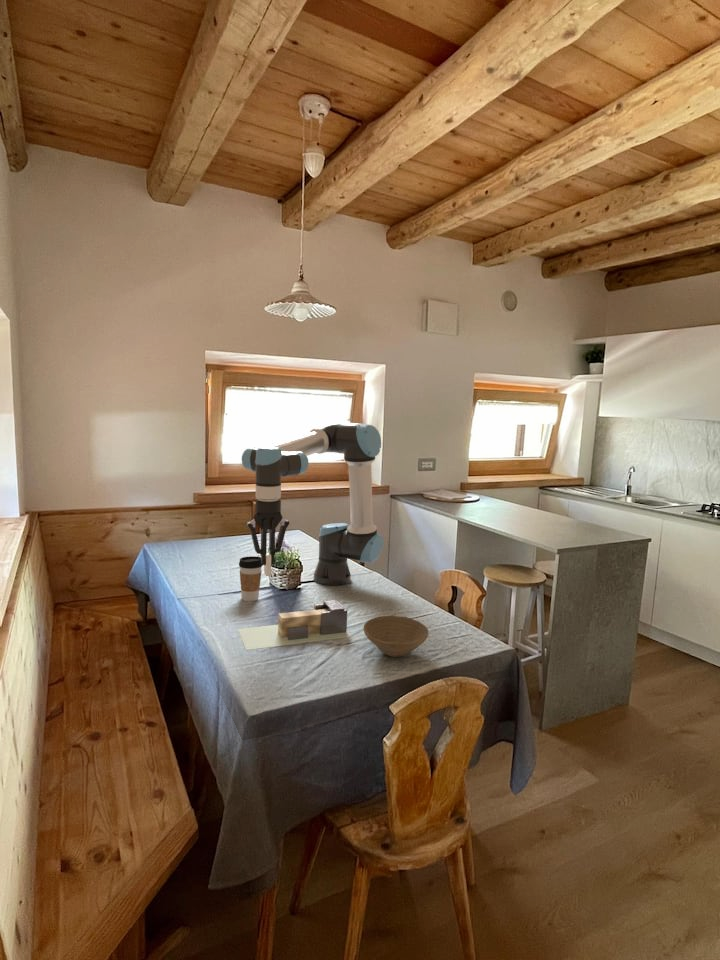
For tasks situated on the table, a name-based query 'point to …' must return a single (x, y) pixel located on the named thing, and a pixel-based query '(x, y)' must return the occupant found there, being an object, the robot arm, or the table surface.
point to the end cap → (332, 617)
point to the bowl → (395, 634)
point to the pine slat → (300, 621)
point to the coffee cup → (250, 577)
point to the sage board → (278, 637)
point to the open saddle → (297, 632)
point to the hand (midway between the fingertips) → (267, 574)
